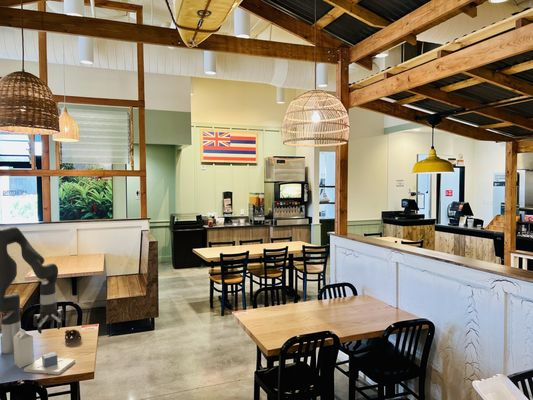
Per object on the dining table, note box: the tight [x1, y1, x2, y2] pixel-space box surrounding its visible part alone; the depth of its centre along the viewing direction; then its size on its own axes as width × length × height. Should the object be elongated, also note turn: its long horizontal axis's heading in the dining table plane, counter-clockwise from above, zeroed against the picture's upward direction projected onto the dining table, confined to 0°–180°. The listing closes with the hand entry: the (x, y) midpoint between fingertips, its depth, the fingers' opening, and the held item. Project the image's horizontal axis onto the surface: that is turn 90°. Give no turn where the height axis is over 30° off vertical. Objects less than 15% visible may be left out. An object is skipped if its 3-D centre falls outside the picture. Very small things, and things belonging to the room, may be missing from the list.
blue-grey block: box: [41, 350, 58, 368], centre depth 203 cm, size 6×6×5 cm
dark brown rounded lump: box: [64, 328, 82, 345], centre depth 234 cm, size 12×10×8 cm
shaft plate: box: [23, 356, 76, 375], centre depth 203 cm, size 20×13×5 cm, turn 81°
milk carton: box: [13, 328, 35, 369], centre depth 206 cm, size 7×7×19 cm
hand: (49, 330), depth 204 cm, fingers open, 8 cm apart
